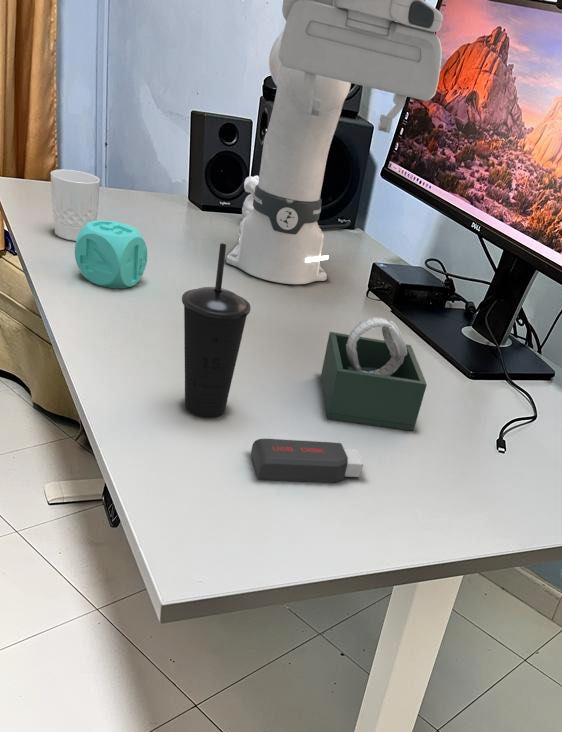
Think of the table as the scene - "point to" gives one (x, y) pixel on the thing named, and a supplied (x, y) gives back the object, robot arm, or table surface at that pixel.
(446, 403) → the table surface
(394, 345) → the watch
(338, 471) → the usb drive
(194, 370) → the drinking cup
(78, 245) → the decorative dice
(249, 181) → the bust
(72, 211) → the white cup
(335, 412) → the open box
